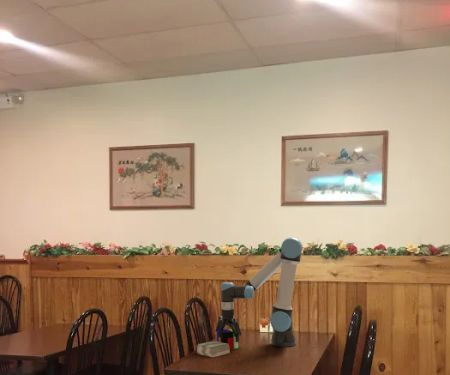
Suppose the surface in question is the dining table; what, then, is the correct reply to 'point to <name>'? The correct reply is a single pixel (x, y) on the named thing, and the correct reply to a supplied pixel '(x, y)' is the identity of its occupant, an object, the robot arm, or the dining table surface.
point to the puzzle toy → (226, 337)
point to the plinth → (213, 348)
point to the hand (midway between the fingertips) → (228, 346)
